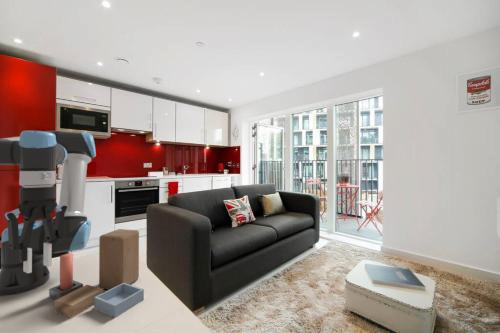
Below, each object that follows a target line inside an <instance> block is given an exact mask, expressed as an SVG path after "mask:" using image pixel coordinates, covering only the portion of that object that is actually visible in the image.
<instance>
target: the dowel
mask: <svg viewBox="0 0 500 333" xmlns="http://www.w3.org/2000/svg"><path fill="white" fill-rule="evenodd" d="M73 280H74V253H71V252H70V253H65V254H62V255H59V285H60V290H62V291H64V290H66V289H68V288H71V287H73Z"/></svg>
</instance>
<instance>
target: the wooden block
mask: <svg viewBox="0 0 500 333" xmlns="http://www.w3.org/2000/svg"><path fill="white" fill-rule="evenodd" d="M98 241H99V244H98V245H99V246H98V247H99V252H98V253H99V254H98V256H99V260H98V262H99V264H98V265H99V267H98V268H99V269H98V274H99V276H98V283H99V284H98V286H99V288H103V289H104V290H110V289H112V288H114V287H116V286H118V285H120V284H122V283H126V284H129V285H133V284H134V283H135V282H136V281H137V280H139V276H140V274H139V273H140V230H137V229H136V230H135V229H123V228H118V229H115V230H113V231H110V232H107V233H104V234H101V235H100V236H99V240H98Z"/></svg>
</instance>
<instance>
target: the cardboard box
mask: <svg viewBox="0 0 500 333" xmlns="http://www.w3.org/2000/svg"><path fill="white" fill-rule="evenodd" d="M104 290H105V289H103V288H100V287H98V286H94V285H90V284H85V285H83V287H81V288H79V289H77V290H75V291H73V292H71V293H69V294H67V295H65V296H63V297H61V298H59V299H56V300H54V313H56V314H60V315H63V316H66V317H69V318H75V317H76V316H78V315H80V314H82V313H83V312H85V311H86V310H88V309H90V308H92V307H93V306H94V297H96V296H98V295H100V294H102V293H104Z"/></svg>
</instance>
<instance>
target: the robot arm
mask: <svg viewBox="0 0 500 333" xmlns="http://www.w3.org/2000/svg"><path fill="white" fill-rule="evenodd" d="M93 136H94V135H92V134H91V133H89V132H82V131H81V132H80V131H79V132H78V131H63V130H62V131H60V130H45V131H42V130H22V131H21V133H20V135H19V136H12V137H4V138H3V137H2V138H0V166H14V165H15V166H19V177H18V178H19V181H18V185H19V186H21V187H20V188H19V191H18V196H19V200H18V202H19V204H18V205H17V207H16V208H15V209H14V210H11V211H5V212H4V213H3V217H4V219H5V220H6V222H7V228H4V229H3V231H2V233H1V240H0V256H1V257H0V259H1V260H0V264H1V265H0V266H1V267H0V296H7V295H14V294H19V293H22V292H27V291H29V290H33V289H36V288H38V287H40V286H42V285H44V284H45V283H47V282H48V281H49V280H50V279H51V277H50V276H51V274H50V270H49V267H52V264H53V262H52V259H53V258H52V256H53V255H52V254H60V253H66V252H67V253H68V252H70V253H71V252H74V251H79V250H83V249H85V248H86V246H87V244H88V242H89V240H90V234H91V230H92V221H90V220H88V216H87V215H86V214H85V213H84V211H85V210H84V208H85V195H86V186H87V185H86V184H87V170H88V164H89V163H91V162H92V158H96V156H97V153H96V144H95V139H94V137H93ZM62 163H63V167H62V176H61V184H60V193H59V201H58V202H57V201H56V198H57V195H56V192H57V191H56V190H57V187H56V186H55V185H56V183H57V182H56V180H57V179H56V176H57V175H56V174H57V173H56V172H57V169H56V166H57V165H61V164H62ZM53 211H55V216H54V217H52V213H53ZM20 215H22V216H23V217H24V218H23V222H22V223H19V220H18V218H19V216H20ZM39 219H40V220H39Z"/></svg>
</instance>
